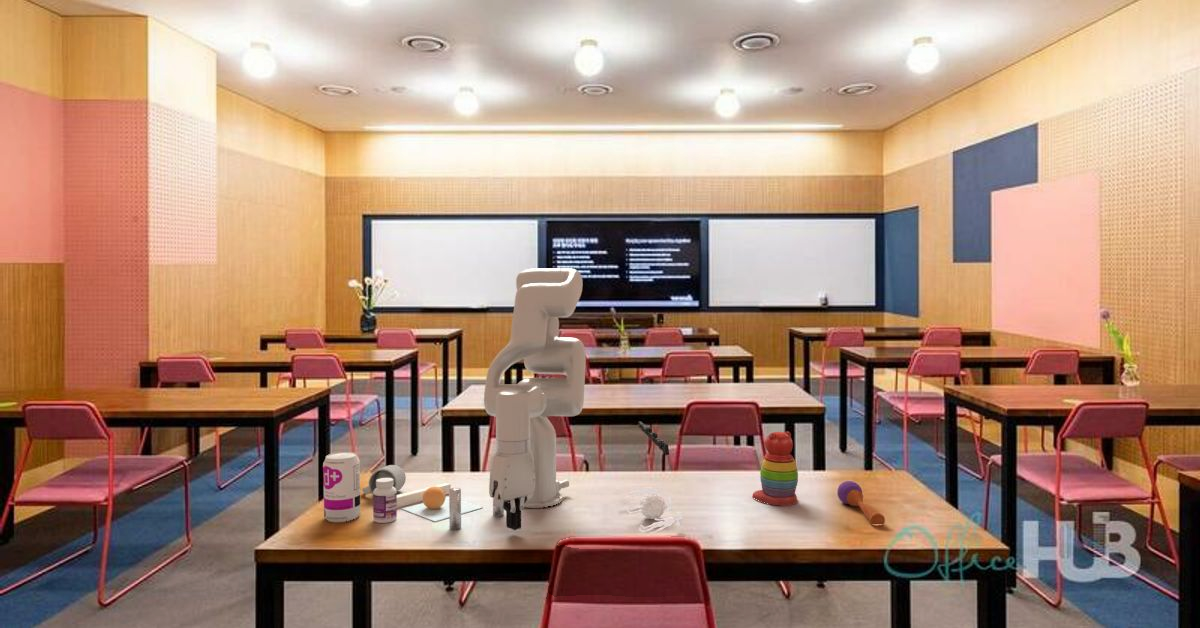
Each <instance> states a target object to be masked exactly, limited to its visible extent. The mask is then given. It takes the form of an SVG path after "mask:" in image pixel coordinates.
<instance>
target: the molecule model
mask: <svg viewBox="0 0 1200 628" xmlns="http://www.w3.org/2000/svg"><path fill="white" fill-rule="evenodd" d="M637 426H638V428H639V429H640V430H641V431H642V432H643V434H644V435H646V436H648V439H649V440H650V441H652V442H653V444H655V446H656V447H658V449H659V450H660V451H661V452H662V453H663V454H664V455H666V456H669V455H670V449H669V443H667V441H665V440H664V439H661V438H658V433H657V432H655V431H654V432H653V428H652V427H651V426H649V425H648V426H647V425H646V424H644V422H642V421H638V425H637ZM662 484H663V483H658V484H657V485H658V488H654V487H653V486H652V487H651V486H648V487H647V486H646V487H645V486H643V487H641V486H640V487H639V486H631V488H634V489H640V490H633V491H631V492H630V491H629V492H627V493H624V492H622V491H620V492H619V493H620V494H621V495H619V498H621V500H624V499H630V498H634V497H637V496H641V497H639V498H637V499H635V500H631V501H629V504H632V503H634V502H637V501H640V504H639V505H638V506H635V507H630V505H627V509H626V512H627V513H628V514H633V513H635V514H636V513H639V512H640V513H641V514H642V515H641V514H640V515H639V516H637V519H641V518H642V517H645V518H647V519H650V520H655V521H657V522H653V523H652V524H650V525H647V526H644V525H643V524H642V523H641V524H640V527H641V528H640V527H639V528H638V530H639V531H640V532H641V533H645V532H647V534H646V535H647V536H648V535H649V536H651V535H653V534H654V533H656V532H659V531H663V530H664V529H666V528H667V527H671V526H672V524H673V523H675V526H678V527H679V526H681V524H680V520H683V517H682V513H683V511H682V510H679V511H677V515H678V516H677V517H674V516H669V517H665V518H660V517H661V516H662V515H664V514H665V513H664V512H665V509H666V510H667V511H671V510H672V507H671V505H674V504H675V503H674V502H673V496H668V497H667V498H668V500H669V502H668V501H667V502H665V500H664V498H663V497H662V495H661V493H660V492H662V491H664V489H662V486H663V485H662ZM656 493H657V494H656ZM630 494H631V495H630ZM622 495H623V496H622ZM624 495H625V497H624ZM626 495H629V496H626ZM643 495H644V496H643ZM666 507H667V508H666ZM638 508H640V509H638ZM634 509H638V510H635V511H630V510H634ZM659 527H660V528H659ZM655 528H658V529H656V530H655V531H652V532H649V533H648V531H651V530H654V529H655Z"/></svg>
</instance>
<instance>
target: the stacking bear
mask: <svg viewBox="0 0 1200 628" xmlns="http://www.w3.org/2000/svg"><path fill="white" fill-rule="evenodd" d="M793 444H794V443H793V439H792V434H791V432H790V431H789V430H788V431H785V432H783V431H774V432H771V433H769V435H767V437H766V438H765V440H764V446H765V450H766V451H767V453H766V454H764V458H763V460H762V462H761V463H762V464H761V467H760V473H759V475H760V483H761V489H759V490H756V491H754V492H753V493H752V499H753V498H755V499H757V500H759V501H762V502H765V503H768V504H767V505H770V504H774V505H773V506H775V505H782V506H781V507H784V506H783V505H789V506H793V505H795V504H797V502H798V497H797V494H796V490H797V486H798V480H799V472H798V469H797V468H798V467H797V466H798V465H797V462H796V460H795V459H794V457H793V455H792V454H791V453H792V450H793V446H794V445H793ZM755 499H754V500H755ZM757 500H756V501H757ZM759 501H758V502H759ZM762 502H761V503H762ZM765 503H764V504H765ZM792 504H793V505H792Z"/></svg>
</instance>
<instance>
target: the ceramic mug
mask: <svg viewBox="0 0 1200 628" xmlns="http://www.w3.org/2000/svg"><path fill="white" fill-rule="evenodd" d="M406 476H407V474H406V473H405V471H404V469H403V468H402V467H400V466H398V465H396V464H389V465H386V466H384V467H381V468H378V469H377V470H375V471H374V472H373V473H371V475H370V477H369V479H368V486H366V487H364V488H362V489H361V490H362V493H363V495H367V494H369V493H371V494H372V495H373V491H374V490H375V489H376V488H377V487H376V480H377V479H380V478H392V479H393V480H394V484H393V487H395V488H396V491H397V492H399V491H400V490H401V489H402V488H403V487H404V485H405V483H406V478H407V477H406Z"/></svg>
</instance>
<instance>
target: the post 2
mask: <svg viewBox="0 0 1200 628" xmlns="http://www.w3.org/2000/svg"><path fill="white" fill-rule="evenodd" d="M493 501H494V498H492V502H493ZM504 515H505V510H504V508H503V507H496V506H494V505H493V504H492V516H493V517H496V518H498V517H504Z"/></svg>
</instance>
